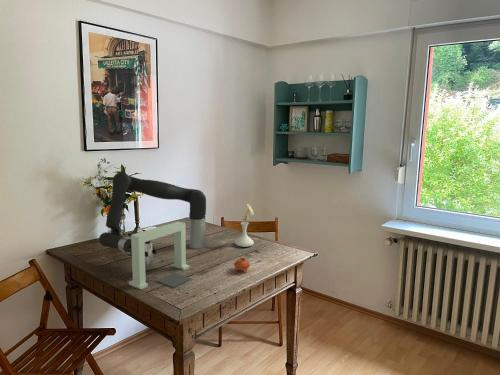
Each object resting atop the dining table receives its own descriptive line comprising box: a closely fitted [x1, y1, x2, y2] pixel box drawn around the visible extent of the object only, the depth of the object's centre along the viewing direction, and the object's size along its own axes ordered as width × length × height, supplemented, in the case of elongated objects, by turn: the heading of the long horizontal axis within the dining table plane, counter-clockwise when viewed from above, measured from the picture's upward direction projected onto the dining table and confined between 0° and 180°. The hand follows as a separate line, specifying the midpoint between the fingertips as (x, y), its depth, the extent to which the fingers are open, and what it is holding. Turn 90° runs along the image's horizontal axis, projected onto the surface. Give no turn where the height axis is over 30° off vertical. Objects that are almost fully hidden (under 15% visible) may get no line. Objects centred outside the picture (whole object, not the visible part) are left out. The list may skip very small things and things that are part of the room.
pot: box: [233, 257, 251, 273], centre depth 178 cm, size 8×8×7 cm
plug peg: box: [144, 240, 154, 269], centre depth 174 cm, size 4×4×14 cm
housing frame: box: [128, 221, 190, 290], centre depth 168 cm, size 8×30×23 cm, turn 145°
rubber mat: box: [156, 272, 192, 289], centre depth 165 cm, size 11×11×1 cm
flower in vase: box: [234, 203, 255, 248], centre depth 214 cm, size 13×11×25 cm
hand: (151, 253), depth 172 cm, fingers closed on plug peg, 4 cm apart
